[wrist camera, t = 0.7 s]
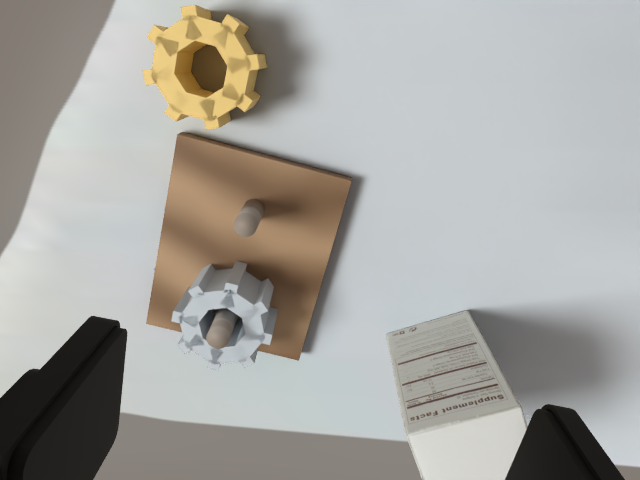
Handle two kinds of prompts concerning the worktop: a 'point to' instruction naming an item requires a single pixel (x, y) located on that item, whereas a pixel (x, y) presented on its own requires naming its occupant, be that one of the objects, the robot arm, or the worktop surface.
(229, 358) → the slate gear
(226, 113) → the ochre gear
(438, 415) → the supplement box
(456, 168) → the worktop surface
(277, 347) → the gear board
